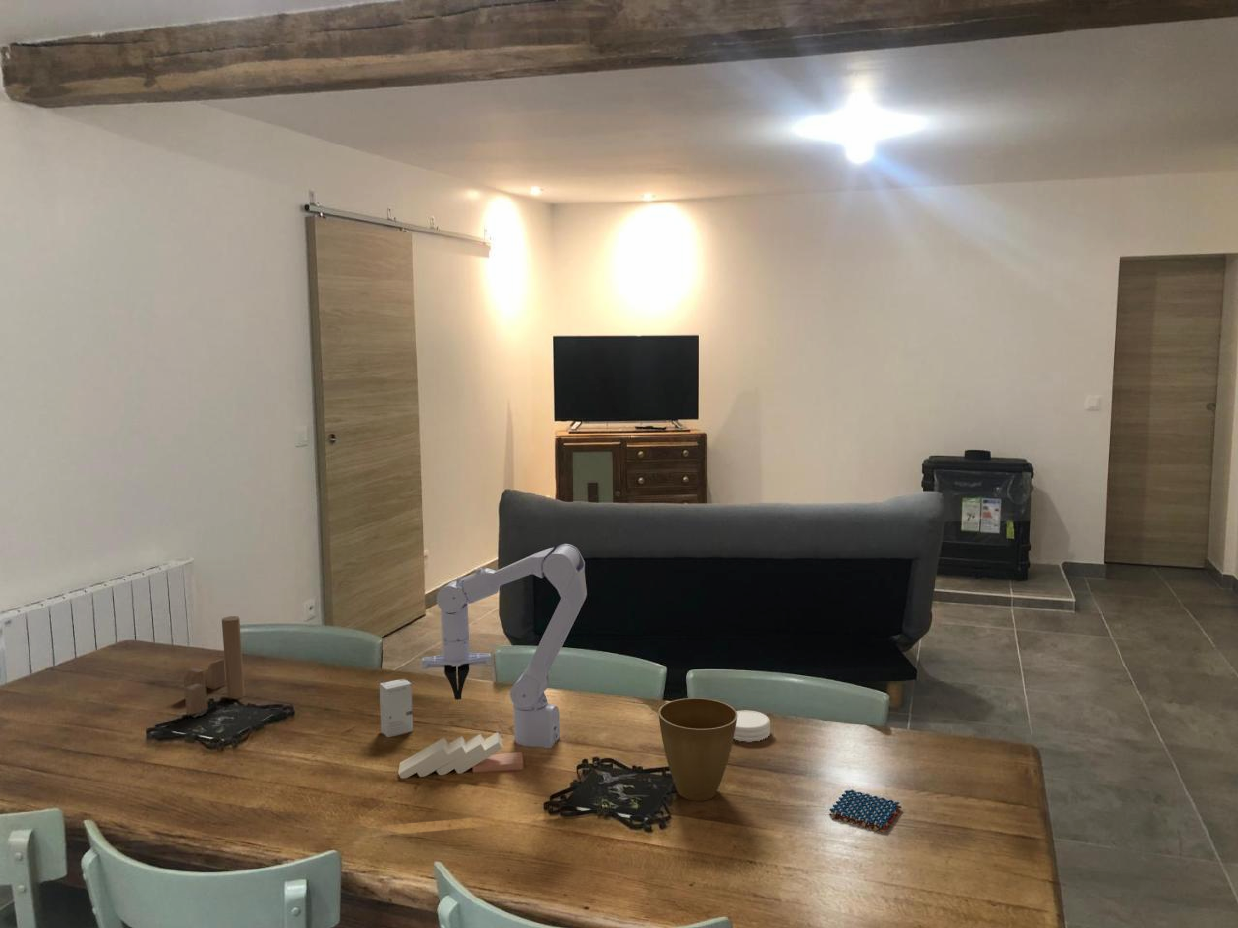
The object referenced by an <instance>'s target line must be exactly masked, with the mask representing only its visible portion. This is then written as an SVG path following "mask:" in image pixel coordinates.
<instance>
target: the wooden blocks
mask: <svg viewBox="0 0 1238 928" xmlns="http://www.w3.org/2000/svg"><path fill="white" fill-rule="evenodd" d="M221 627H222V640H223V641H222V643H223V656H224V659H220V660H215V661H214V662H211V663H210V664H209V665H208V667H207V668H206V670H205V671H204V670H203V669H200V668H198V667H194V668H191V669H189V670H188V671H187V672H186V674H185V675H184V677H183V689H184V698H185V711H186V716H187V715H190V714H196V713H198V712H200V711H202V710H205V709H209V708H208V696H207V689H210V690H213V691H214V690H217V689H220V688H223V687H225V686H226V697H227V699H228V698H233V699H235V700H239V699H243V698H244V697H245V695H246V693H245V691H246V690H245V680H244V677H245V676H244V664H243V650H242V649H243V648H242V635H241V622H240V617H239V616H236V615H230V616H225V617H223V618H221ZM206 687H207V688H206Z"/></svg>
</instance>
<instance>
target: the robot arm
mask: <svg viewBox="0 0 1238 928" xmlns="http://www.w3.org/2000/svg"><path fill="white" fill-rule="evenodd" d="M554 548H555V547H550V548H547V549H544V550H540V551H538V552H535V553H533V554H530V555H529V556H526V557H524V558H522V559H520V560H518V561H515V562H513V563H511V564H509V565H506V566H504V567H502V568H500V569H497V570H495V569H491V568H489V567H486V568H484V569H483V567H480V568H477V569H476V570H474V573H472V574H470V575H467V576H464V577H462V576H459V577H457V578H456V579H455V580H452V581H450V582H449V583H448V584H446V585H445V586H444V587H442V588H441V589H440V590H439V591H438V593H437V594H436V604H437V606H438V608H439V609H441V610H440V612H441V640H442V641H441V642H442V654H439V655H433V656H428V657H422V659H421V665H422V666H421V668H422V670H427V669H430V668H431V669H432V668H442V667H443V673H444V675H445V677H446V679H447V680H448V681H449V684H450V687H451V689H452V692H453V696H454V701H455V700H456V701H457V700H462V694H463V689H464V685H465V682H466V679H467V676H468V675H469V672H470V666H475V665H486V666H491V665H492V661H491V653H479V652H477V653H476V652H470V626H469V607H468V606H469V605H470V604H472V605H473V604H474V603H476V602H479V601H481V600H483V599H486V598H488V597H491V596H494V595H495V594H498V593H499V591H500V588H501V586H503V585H505V584H508V583H511V582H514V581H516V580H519V579H522V578H525V577H528V576H530V575H533V576H536V577H538V578H540V579H543V578H544V577H546V579H547V580H548V581H549V582H550V583H551V585H552V586H553V587H555V589H556V590H557V592H558V594H559V596H560V600H559V602H558V603H557V607H556V608H555V611H554V613H553V615H552V617H551V619H550V621H549V623H548V625H547V626H546V629H545V631H544V633H543V635H542V637H541V640H540V641H539V644H538V645H537V648H536V649H535V651H534V654H533V655H532V657H531V660H530V662H529V664H528V665H527V667H526V668H525V669H524V670H523V672H522V673H521V674H520V676H519V678H518V679H517V680H516V682H515V683H514V684H513V685H512V686H511V688H510V692H509V698H510V701H511V702H512V704H513V705H512V706H513V730H514V731H513V733H514V735H513V736H514V738H513V739H514V742H515V743H516V745H520V746H523V747H530V748H531V747H533V748H534V747H535V748H536V747H537V748H546V749H552V747H554V745H555V744H556V742H558V740H559V739H560V738H561V729H560V728H561V725H560V710H559V707H558V705H554V704H551V703H550V702H549V701H548V699H547V695H546V694H545V691H546V690H547V689H548V687H549V683H550V680H549V679H550V678H549V677H550V673H551V671H552V667H553V665H554V663H555V661H556V659H557V657H558V656H559V653H560V651H561V649H562V647H563V645H564V643H565V641H566V639H567V637H568V635H569V633H570V631H571V629H572V627H573V625H574V622H575V621H576V619H577V616H578V615H579V613H580V611H581V608H582V607H583V605H584V603H585V601H586V599H587V596H588V589H587V583H586V572H585V570H586V562H585V560H584V558H583V556H582V554H581V552H580V550H579V549H578V547H576V546H574V545H572V544H569V543H563V544H560V545H558V546H557V547H556V548H555V549H554Z"/></svg>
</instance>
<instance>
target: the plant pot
mask: <svg viewBox="0 0 1238 928" xmlns="http://www.w3.org/2000/svg"><path fill="white" fill-rule="evenodd" d="M736 711H737V710H736V709H735V708H734V707H733V706H731V705H730V704H727V703H726V702H722V701H720V700H716V699H711V698H703V697H690V698H689V697H688V698H687V697H686V698H680V699H675V700H671V701H668V702H666V703H664V704H663V705H661V706H660V707H659V709H658V720H659V721H658V722H659V727H660V734H661V739H662V745H663V750H664V753H665V757H666V758H665V759H666V762H667V765H668V768H669V772H670V775H671V778H672V780H673V784H674V786H675V788H676V792H677V793H678V795H679V796H680V797H681V798H684V799H685V800H689V801H695V802H702V801H703V802H704V801H708V800H710V799H713V798H714V797H715V796H716V795H717V792H718V791H719V790H718V789H719V788H720V784H721V782H722V780H723V777H724V773H725V772H726V768H727V765H728V763H729V758H730V755H731V751H732V748H733V743H734V740H733V739H734V733H735V728H736V722H737V716H738V715H737V712H736Z"/></svg>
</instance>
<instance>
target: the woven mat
mask: <svg viewBox="0 0 1238 928" xmlns="http://www.w3.org/2000/svg"><path fill="white" fill-rule="evenodd" d="M901 809H902V806H901V805H900V802H899V801H896V800H893V799H888V798H885V797H880V796H877V795H871V794H869V793H864V792H861V791H856V790H855V789H849V790H848V789H847V790H844V793H842V794H841V797H838V800H836V801H835V803H834V804H832V807H831V808H829V811H830V813H829V814H828V816H829V817H830V819H837V818H838V820H839V821H842V820H843V822H844V823H847V822H849V823H850V824H852V825H853V824H854V823H856V824H855V826H856V827H863V828H867V827H868V828H867V829H873V830H874V831H879V829H881V830H880V832H882V833H885V831H887V830H888V828H890V827H891V824H892V823H893V820H894V819H895V817H898V815H899V814H898V813H899V812H900V811H901ZM860 825H861V826H860Z"/></svg>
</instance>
